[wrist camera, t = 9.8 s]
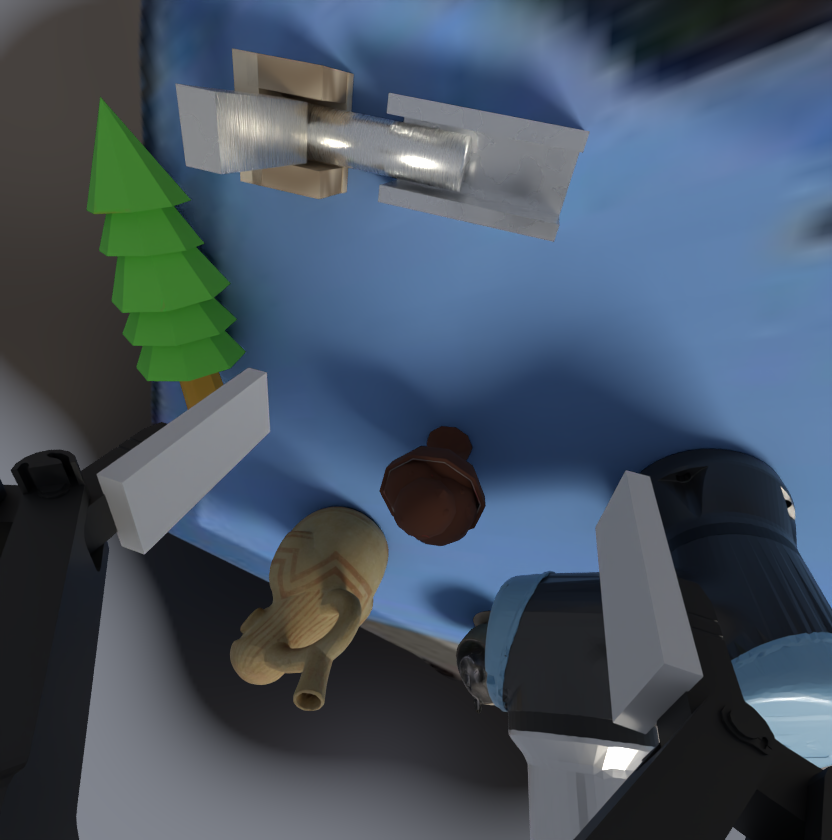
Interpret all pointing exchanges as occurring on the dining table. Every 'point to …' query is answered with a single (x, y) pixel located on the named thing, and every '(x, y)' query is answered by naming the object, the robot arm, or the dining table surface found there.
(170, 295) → the decorative tree
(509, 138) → the channel
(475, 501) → the ice cream bowl
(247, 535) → the dining table surface
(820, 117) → the dining table surface
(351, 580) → the ceramic vessel
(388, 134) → the shiny silver metal piece
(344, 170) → the socket
